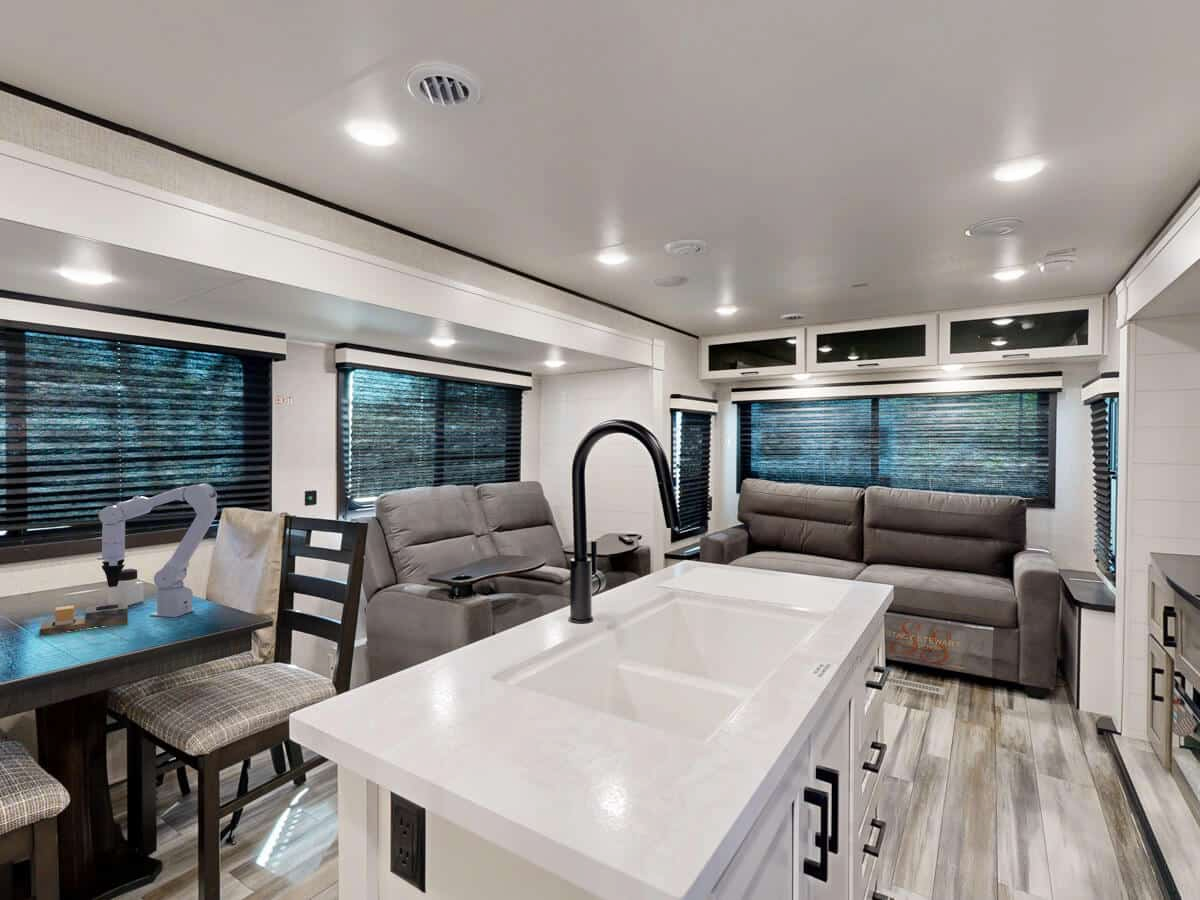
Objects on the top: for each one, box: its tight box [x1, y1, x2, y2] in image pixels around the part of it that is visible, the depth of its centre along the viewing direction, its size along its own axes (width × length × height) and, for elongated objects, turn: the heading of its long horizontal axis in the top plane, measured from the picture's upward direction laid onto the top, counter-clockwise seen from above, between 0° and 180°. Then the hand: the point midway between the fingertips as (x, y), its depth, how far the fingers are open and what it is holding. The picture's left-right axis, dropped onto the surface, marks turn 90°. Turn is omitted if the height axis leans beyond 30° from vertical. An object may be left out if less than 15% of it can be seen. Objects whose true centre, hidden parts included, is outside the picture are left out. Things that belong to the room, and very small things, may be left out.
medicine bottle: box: [107, 568, 145, 606], centre depth 209 cm, size 7×7×12 cm
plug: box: [54, 604, 75, 626], centre depth 180 cm, size 4×4×6 cm
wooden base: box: [39, 602, 129, 637], centre depth 183 cm, size 20×9×5 cm, turn 129°
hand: (113, 584), depth 194 cm, fingers open, 7 cm apart
